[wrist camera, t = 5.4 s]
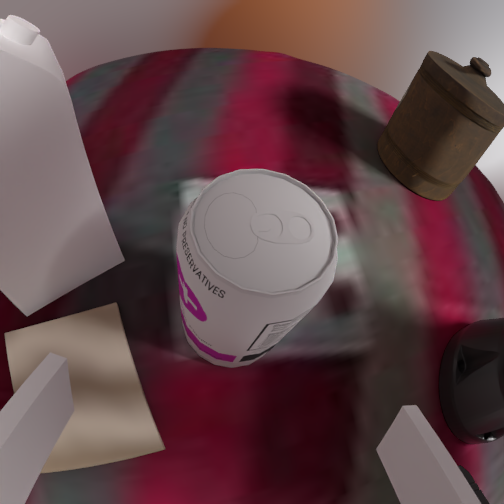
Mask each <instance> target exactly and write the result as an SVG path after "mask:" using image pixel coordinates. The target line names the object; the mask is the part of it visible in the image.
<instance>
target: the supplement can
mask: <svg viewBox="0 0 504 504" xmlns="http://www.w3.org/2000/svg"><path fill="white" fill-rule="evenodd" d="M337 244H338V236H337V231H336V226H335V222H334V218H333V217H332V215H331V213H330V212H329V210H328V208H327V207H326V205H325V203H324V202H323V200H322V199H321V198H320V197H319V196H317V195H316V194H315V193H314V192H313V191H312V190H311V189H310V188H309V187H308V186H306V185H305V184H303V183H301V182H299V181H297V180H296V179H294V178H292V177H290V176H288V175H286V174H282V173H278V172H274V171H270V170H265V169H240V170H237V171H234V172H230V173H227V174H224V175H221V176H219V177H217V178H216V179H215V180H213V181H212V182H211V183H210V184H208V185H207V186H206V187H204V188H203V189H202V190H201V192H200V194H199V196H198V197H197V198H196V199H195V200H194V201H193V202H191V203H190V205H189V207H188V209H187V210H186V212H185V214H184V216H183V217H182V219H181V221H180V223H179V227H178V237H177V247H176V251H177V268H178V282H179V295H180V306H181V317H182V327H183V330H184V333H185V336H186V339H187V341H188V343H189V344H190V346H191V347H192V348H193V349H194V350H195V352H196V353H197V354H198V355H199V356H200V357H202V358H204V359H205V360H207V361H209V362H211V363H212V364H214V365H219V366H224V367H230V368H233V367H239V366H245V365H249V364H251V363H253V362H254V361H256V360H258V359H259V358H261V357H263V356H264V355H265V354H266V353H267V352H268V351H269V350H270V349H271V348H273V347H274V346H275V345H276V344H277V343H278V342H279V341H280V340H281V339H282V338H283V337H284V336H285V335H286V334H287V333H288V332H289V331H290V330H291V329H292V328H293V327H294V326H295V325H296V324H297V323H298V322H299V321H300V320H301V319H302V318H303V317H304V316H305V315H306V314H307V313H308V312H309V311H310V310H311V309H312V308H313V307H314V306H315V305H316V304H317V303H318V302H319V301H320V300H321V298H322V297H323V295H324V294H325V293H326V291H327V290H328V288H329V287H330V285H331V284H332V282H333V280H334V275H335V270H336V265H337V259H338V255H337Z"/></svg>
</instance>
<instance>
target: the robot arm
mask: <svg viewBox="0 0 504 504" xmlns="http://www.w3.org/2000/svg"><path fill="white" fill-rule="evenodd" d="M439 394H440V402H441V407H442V411H443V414H444V417H445V420H446V422H447V424H448V426H449V428H450V430H451V431H452V432H453V434H454V435H455V436H456V437H457V438H458V439H460V440H461V441H463V442H465V443H468V444H480V443H488V442H491V441H494V440H496V439H498V438H500V437H502V436H504V318H499V319H489V320H480V321H477V322H474V323H472V324H470V325H468V326H466V327H464V328H463V329H461V330H459V331H458V332H457V333H456V334H455V335H454V336H453V337H452V339H451V340H450V342H449V343H448V345H447V347H446V350H445V352H444V355H443V358H442V362H441V368H440V375H439ZM73 412H74V404H73V398H72V392H71V386H70V378H69V371H68V362H67V358H65V357H62V356H59V355H56V354H53V353H51V352H50V353H49V354H48V355H47V356H46V358H45V359H44V360H43V361H42V362H41V363H40V364H39V366H38V367H37V368H36V369H35V370H34V371H33V372H32V374H31V375H30V376H29V377H28V378H27V379H26V381H25V382H24V383H23V384H22V385H21V387H20V388H19V389H18V390H17V391H16V393H15V394H14V395H13V396H12V397H11V399H10V400H9V401H8V402H7V404H6V405H5V406H4V407H3V409H2V410H1V411H0V504H25V502H26V500H27V498H28V496H29V494H30V492H31V490H32V488H33V486H34V484H35V482H36V480H37V478H38V476H39V474H40V472H41V470H42V468H43V466H44V464H45V463H46V461H47V459H48V457H49V455H50V453H51V451H52V450H53V448H54V446H55V444H56V442H57V440H58V439H59V437H60V435H61V433H62V431H63V430H64V428H65V426H66V424H67V423H68V421H69V419H70V417H71V416H72V414H73ZM376 451H377V453H378V455H379V457H380V459H381V461H382V464H383V466H384V468H385V470H386V472H387V475H388V477H389V479H390V481H391V483H392V486H393V488H394V490H395V492H396V495H397V497H398V499H399V501H400V504H489V502H488V501H487V499H486V498H485V496H484V495H483V493H482V491H481V490H479V487H478V485H477V484H476V483H475V481H474V479H473V478H472V476H471V475H470V473H469V472H468V471H467V470H466V469H464V468H463V467H462V466H461V465H460V466H457V465H456V463H455V461H454V460H453V458H452V457H451V455H450V454H449V452H448V451H447V449H446V448H445V446H444V445H443V443H442V442H441V440H440V439H439V437H438V436H437V434H436V433H435V431H434V430H433V429H432V427H431V426H430V424H429V423H428V421H427V420H426V418H425V417H424V415H423V414H422V412H421V411H420V410H419V408H418V407H417V405H407V406H402V408H401V409H400V411H399V413H398V415H397V416H396V418H395V420H394V421H393V423H392V425H391V426H390V428H389V430H388V431H387V433H386V434H385V436H384V438H383V439H382V441H381V442H380V444H379V445H378V447H377V448H376Z"/></svg>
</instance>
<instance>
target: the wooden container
mask: <svg viewBox="0 0 504 504" xmlns="http://www.w3.org/2000/svg"><path fill="white" fill-rule="evenodd" d="M490 75H491V70H490V68H489V65H488V64H487V63H486V62H485V61H483V60H482V59H481V58H476V57H473V58H472V59H471V61H470V65H469V66H464V67H462V66H461V65H459V64H458V63H456V62H454V61H453V60H451V59H450V58H448V57H446V56H444V55H442V54H439V53H437V52H433V51H429V52H428V53H427V55H426V57H425V59H424V60H423V63H422V65H421V67H420V69H419V70H418V72H417V73H416V75H415V77H414V79H413V80H412V82H411V84H410V86H409V87H408V89H407V91H406V93H405V94H404V96H403V98H402V99H401V101H400V103H399V104H398V106H397V108H396V110H395V111H394V113H393V115H392V117H391V119H390V121H389V123H388V125H387V126H386V128H385V130H384V132H383V133H382V135H381V137H380V139H379V141H378V151H379V154H380V157H381V159H382V161H383V162H384V164H385V165H386V167H387V168H388V169H389V171H390V172H391V173H392V174H393V175H394V176H395V177H396V178H397V179H398V180H399V181H400V182H401V183H402V184H404V185H405V186H406V187H407V188H409V189H410V190H412V191H413V192H415V193H417V194H419V195H421V196H423V197H425V198H428V199H431V200H438V201H439V200H444V199H446V198H447V197H448V196H449V195H450V194H451V193H452V192H453V191H454V190H455V189H456V187H457V186H458V185H459V184H460V183H461V182H462V181H463V179H464V178H465V177H466V176H467V175H468V173H469V172H470V171H471V170H472V168H473V167H474V166H475V164H476V163H477V162H478V160H479V159H480V158H481V156H482V155H483V154H484V152H485V151H486V150H487V148H488V147H489V146H490V144H491V143H492V141H493V140H494V139H495V137H496V136H497V135H498V133H499V132H500V131H501V129H502V128H503V127H504V104H503V103H502V101H501V100H500V99H499V98H498V97H497V95H496V94H495V93H494V92H493V91H492V90H491V89H490V88H489V87H487V84H486V79H485V77H489V76H490Z"/></svg>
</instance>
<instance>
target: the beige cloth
mask: <svg viewBox="0 0 504 504" xmlns="http://www.w3.org/2000/svg"><path fill="white" fill-rule="evenodd" d="M5 342H6V349H7V356H8V363H9V369H10V375H11V380H12V385H13V390H14V394H15V393H16V391H17V390H18V389H19V388H20V387H21V385H22V384H23V383H24V382H25V381H26V379H27V378H28V377H29V376H30V375H31V374H32V372H33V371H34V370H35V369H36V368H37V367H38V366H39V364H40V363H41V362H42V361H43V360H44V359H45V358H46V356H47V355H48V354H49V353H50V352H51V353H53V354H56V355H59V356H62V357H65V358H67V362H68V371H69V378H70V386H71V392H72V398H73V404H74V412H73V414H72V416H71V417H70V419H69V421H68V423H67V424H66V426H65V428H64V430H63V431H62V433H61V435H60V437H59V439H58V440H57V442H56V444H55V446H54V448H53V450H52V451H51V453H50V455H49V457H48V459H47V461H46V463H45V464H44V466H43V468H42V470H41V472H40V473H49V472H57V471H65V470H72V469H78V468H85V467H90V466H96V465H101V464H107V463H111V462H116V461H121V460H125V459H130V458H134V457H138V456H142V455H146V454H150V453H154V452H157V451H161V450H165V449H166V448H165V446H164V444H163V441H162V439H161V436H160V434H159V432H158V429H157V427H156V424H155V421H154V419H153V416H152V414H151V411H150V408H149V406H148V403H147V400H146V397H145V394H144V392H143V389H142V386H141V383H140V380H139V377H138V374H137V371H136V368H135V364H134V361H133V358H132V355H131V351H130V348H129V345H128V341H127V338H126V334H125V331H124V327H123V323H122V319H121V316H120V312H119V308H118V305H117V303H112V304H109V305H105V306H102V307H98V308H94V309H91V310H87V311H84V312H80V313H77V314H73V315H69V316H66V317H62V318H59V319H55V320H51V321H48V322H44V323H40V324H37V325H33V326H29V327H26V328H22V329H18V330H15V331H11V332H7V333H5Z"/></svg>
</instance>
